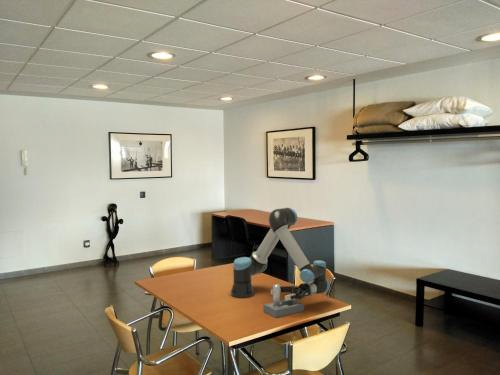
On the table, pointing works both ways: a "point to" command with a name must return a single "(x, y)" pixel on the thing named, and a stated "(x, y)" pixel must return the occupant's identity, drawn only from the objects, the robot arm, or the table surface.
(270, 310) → the keyhole plate
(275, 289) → the steel peg
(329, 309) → the table surface
